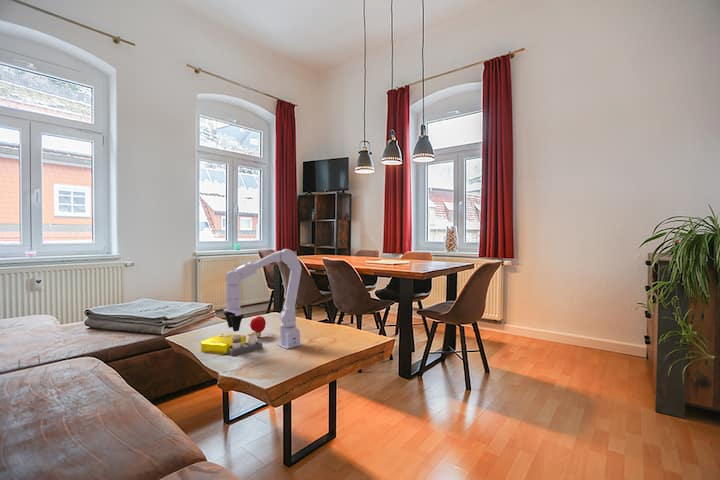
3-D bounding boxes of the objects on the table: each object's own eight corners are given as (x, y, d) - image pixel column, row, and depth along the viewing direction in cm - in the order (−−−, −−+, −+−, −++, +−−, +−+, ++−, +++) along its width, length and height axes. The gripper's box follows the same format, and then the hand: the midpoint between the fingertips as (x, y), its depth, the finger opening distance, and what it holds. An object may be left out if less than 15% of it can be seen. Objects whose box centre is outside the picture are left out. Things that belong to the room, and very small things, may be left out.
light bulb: (260, 340, 172) (259, 319, 171) (247, 339, 173) (246, 319, 173) (269, 334, 181) (268, 315, 181) (256, 334, 182) (255, 314, 182)
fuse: (257, 348, 160) (257, 333, 160) (249, 350, 158) (249, 334, 157) (254, 346, 163) (253, 331, 163) (246, 348, 160) (245, 333, 160)
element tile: (198, 352, 158) (198, 341, 158) (221, 341, 172) (220, 332, 172) (227, 355, 154) (227, 344, 154) (248, 344, 168) (247, 334, 168)
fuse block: (262, 348, 160) (262, 343, 160) (231, 355, 151) (231, 350, 151) (256, 345, 165) (256, 340, 165) (226, 352, 156) (226, 347, 156)
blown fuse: (242, 352, 155) (242, 336, 155) (234, 354, 153) (233, 338, 153) (239, 350, 158) (238, 334, 158) (231, 352, 156) (230, 336, 156)
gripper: (219, 296, 160) (219, 327, 160) (228, 302, 148) (228, 334, 148) (235, 295, 164) (235, 324, 164) (245, 299, 152) (245, 331, 152)
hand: (233, 329), depth 156 cm, fingers open, 7 cm apart
